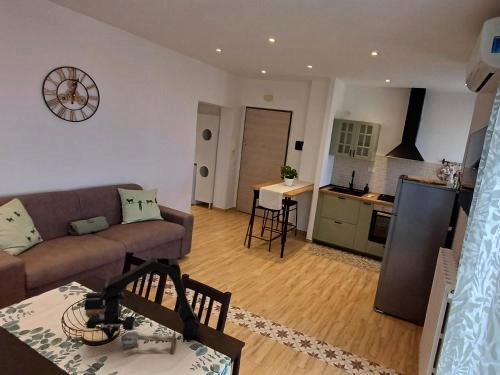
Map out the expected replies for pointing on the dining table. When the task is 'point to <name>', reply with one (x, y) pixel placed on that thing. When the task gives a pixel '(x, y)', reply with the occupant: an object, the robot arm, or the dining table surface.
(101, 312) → the supplement bottle
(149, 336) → the channel
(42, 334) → the dining table surface
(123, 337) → the stud
